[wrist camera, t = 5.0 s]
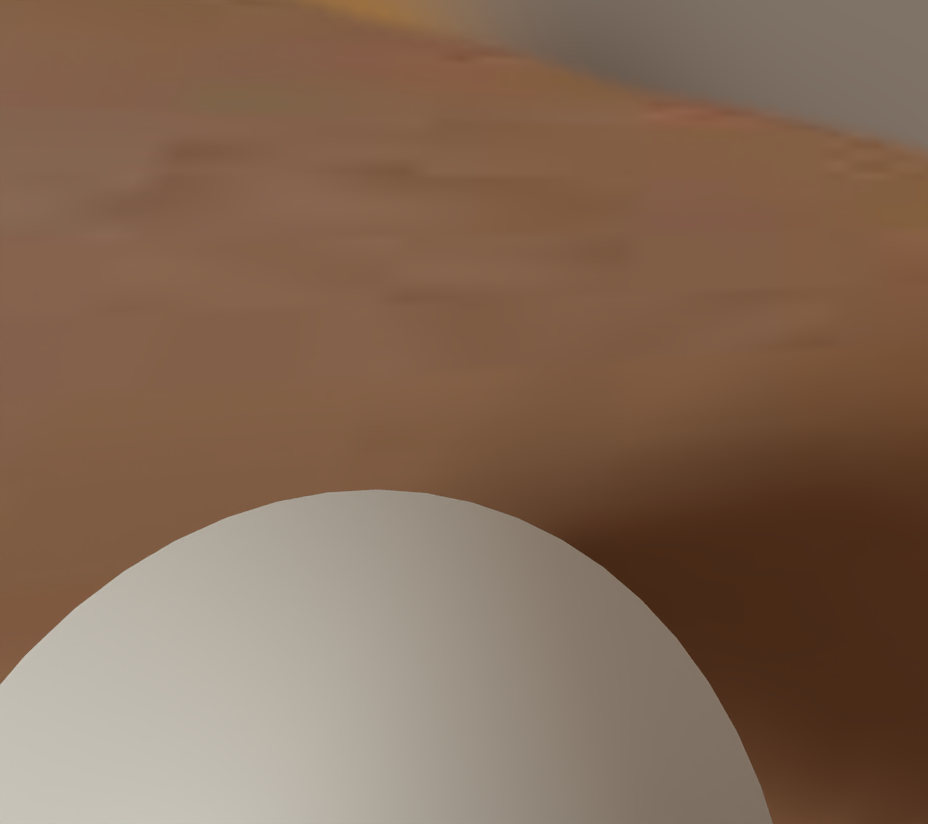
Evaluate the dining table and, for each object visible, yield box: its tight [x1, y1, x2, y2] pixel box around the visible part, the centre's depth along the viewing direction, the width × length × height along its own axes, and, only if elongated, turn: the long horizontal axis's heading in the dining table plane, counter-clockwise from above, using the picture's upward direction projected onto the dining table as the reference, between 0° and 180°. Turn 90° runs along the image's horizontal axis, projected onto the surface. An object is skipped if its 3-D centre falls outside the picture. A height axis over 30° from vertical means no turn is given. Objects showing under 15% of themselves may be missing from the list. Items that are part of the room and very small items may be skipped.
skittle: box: [0, 490, 773, 824], centre depth 9 cm, size 5×5×12 cm
